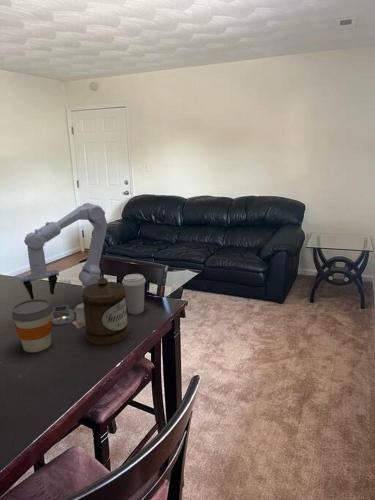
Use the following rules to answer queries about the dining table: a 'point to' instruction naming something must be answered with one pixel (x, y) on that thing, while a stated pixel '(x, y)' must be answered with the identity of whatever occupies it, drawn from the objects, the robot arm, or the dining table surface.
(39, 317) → the reusable coffee cup
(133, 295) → the coffee cup
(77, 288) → the dining table surface
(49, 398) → the dining table surface
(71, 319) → the grey frying pan
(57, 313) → the open square box
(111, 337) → the wooden container
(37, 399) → the dining table surface
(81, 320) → the grey block
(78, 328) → the coaster
